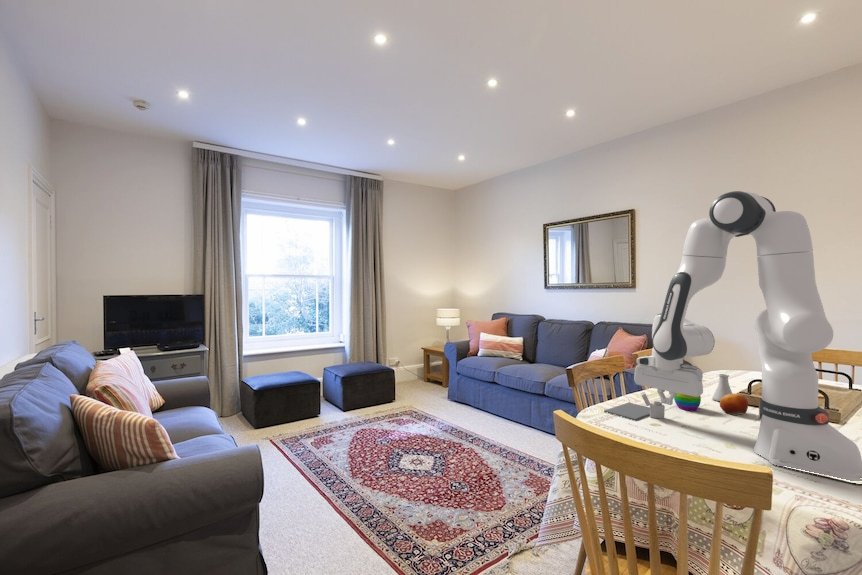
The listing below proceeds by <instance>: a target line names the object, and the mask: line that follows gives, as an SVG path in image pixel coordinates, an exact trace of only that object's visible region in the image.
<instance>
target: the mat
mask: <svg viewBox="0 0 862 575" xmlns="http://www.w3.org/2000/svg"><path fill="white" fill-rule="evenodd" d="M606 412H608V413H607V414H609V413H612V414H611V415H613V414H616V415H619V416H618V417H620V416H622V417H621V418H624V417H625V418H624V419H627V418H628V420H631V419H632V420H631V421H634V420H636V421H638V420H641V419H643V418H646V417H648V416H649V417H650V406H649V407H648V406H645V405H641V404H637V403H633V402H626V403H624V404H623V403H622V404H619V405H617V406H613V407H611V408H608V409H607V408H606V409H604V413H606ZM616 415H615V416H616Z"/></svg>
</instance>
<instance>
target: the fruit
mask: <svg viewBox="0 0 862 575" xmlns="http://www.w3.org/2000/svg"><path fill="white" fill-rule="evenodd" d="M719 407H720V409H722V411H723V412H724V413H726V414H728V413H729V414H728V415H734V416H737V417H738V416H739V415H740V414H741V415H746V416H747V415H748V414H747V412H748V408H749V400H748V398H746V397H745V396H744V395H743V394H739V393H732V394H728V395H725V396H723V397H722V398H721V400H720V402H719Z"/></svg>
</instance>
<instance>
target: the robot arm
mask: <svg viewBox="0 0 862 575" xmlns="http://www.w3.org/2000/svg"><path fill="white" fill-rule="evenodd" d="M776 210H777V209H776V207H775V205H774V203H773V202H772V201H771V200H770V199H769V198H766V197H764V196H761V195H759V194H757V193H754V192H749V191H747V192H746V191H740V190H738V191H737V190H735V191H730V192H725V193H723V194H721V195H720V196H718V197H717V198H715V200H714V201H713V202H712V203H711V205H710V207H709V212H708V213H709V214H708V215H709V216H708V217H703V218H699V219H697V220H695V221H692V223H691V224H690V226H689V227H688V230H687V233H686V236H685V239H684V243H683V247H682V253H681V254H682V255H681V260H680V264H679V267H678V269H677V271H676V273H675V275H673V277H672V279H671V280H670V282H669V286H668V289H667V292H666V295H665V299H664V303H663V307H662V311H661V313H658V314H657V315H655V316H654V317H653V321H652V326H651V327H652V328H651V342H652V343H651V344H652V348H651V354H648V355H644V356H640V357H637V358H636V364H637V365H636V366H635V368H634V376H633V377H634V378H633V380H634V383H635V385H638V386H642V387H646V388H650V389H651V388H652V389H657V391H656V392H657V394H658V395H659V398H660V402H661V403H662V404H663V405H670V406H671V405H673V402H674V397H675V396H676V395H677V393H680V394H685V395H690V396H694V397H697V396H701V395H703V393H704V386H703V378H704V377H703V376H704V375H703V374H704V372H703V371H702V369H701V368H699V367H698V366H696V365H689V364H684V359H686V358H695V357H703V356H706V355H707V356H708V355H709V354H710V353H712V351H713V350H714V347H715V337H714V335H713V334H714V333H712V331H711V330H710V329H709V328H708V327H706V326H704V325H700V324H697V323H694V322H692V321H690V320H689V319H687V318H686V314H687V311H688V306H689V303H690V301H691V299H692V298H693V297H694V296H695V295H696V294H698V292H701V291H702V290H704V289H706V288H708V287H710V286H712V285H714V284H715V283H717V282H718V281H719V280H720V279H721V278H722V276H723V275H724V272H725V269H726V264H727V263H726V262H727V255H728V249H729V245H730V242H731V240H732V239H733V238H734V237H735V238H737V237H743V236H749V235H751V236H752V238H753V239H754V240H755V244H756V257H757V260H756V261H757V273H758V275H757V276H758V285H759V288H760V290H761V293H762V295H763V299H764V301H765V302H764V303H765V307H766V309H764V310H762V311H760V313H758V314H757V315H756V317H755V319H754V329H755V332H756V339H757V341H756V342H757V349H758V354H759V359H760V360H759V361H760V366H761V398H760V399H759V403H758V415H759V419H760V421H759V422H760V424H759V430H758V435H757V438H756V441H755V444H754V447H753V451H754V452H755V453H756V454H757V455H758V454H759V456H760V455H761V456H760V457H762V458H764V459H766V460H767V461H768V460H769V461H770V462H771V463H770V462H769V461H768V462H769V463H770V464H772V465H773V464H774V466H776V465H777V466H776V467H779V466H787V467H791V468H796V469H801V470H805V471H809V472H814V473H819V474H824V475H829V476H833V477H837V478H841V479H846V480H850V481H862V479H860V478H862V455H861V452H860V449H859V447H858V445H857V443H855V442H854V441H853V440H852V439H850V438H848V437H847V436H845V435H844V434H843V433H841V432H840V431H839V430H838V429H836V428H835V427H833V426H832V425H831V424H830V409H829V410H825V409H824V408H822V407H821V406H820V405H819V375H818V372H817V370H816V368H815V365H814V361H813V357H812V356H813V355H812V354H813V353H817V352H820V351H823V350H824V349H826V348H827V347H829V345H831V343H832V342H833V338H834V329H833V326H832V324H831V323H830V322H829V321H828V318H827V317H826V313H825V309H824V307H823V303H822V299H821V296H820V294H819V293H820V292H819V290H818V286H817V282H816V273H815V261H814V260H815V259H814V252H813V251H814V249H813V248H814V247H813V241H812V236H811V232H810V228H809V224H808V223H807V220H806V218H805V216H804V215H803V214H801V213H799V212H797V211H792V210H781V211H776ZM665 392H668V395H669V397H667V396H666V395H665Z"/></svg>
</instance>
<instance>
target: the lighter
mask: <svg viewBox="0 0 862 575" xmlns="http://www.w3.org/2000/svg"><path fill="white" fill-rule="evenodd" d="M640 395H641V398H642V400H643V401H644V404H645V405H646V407H648V406H649V408H650V415H649V417H650V418H653V419H662V420H665V412H666V411H665V408H666V406H665V404H663V403H661V401H655V400H654V401H653V403H651V402H650V400H649V398H648V396H647V395H646V392H645V391H644V392H642V393H640Z"/></svg>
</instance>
